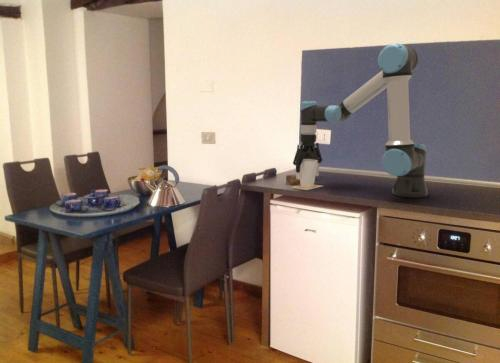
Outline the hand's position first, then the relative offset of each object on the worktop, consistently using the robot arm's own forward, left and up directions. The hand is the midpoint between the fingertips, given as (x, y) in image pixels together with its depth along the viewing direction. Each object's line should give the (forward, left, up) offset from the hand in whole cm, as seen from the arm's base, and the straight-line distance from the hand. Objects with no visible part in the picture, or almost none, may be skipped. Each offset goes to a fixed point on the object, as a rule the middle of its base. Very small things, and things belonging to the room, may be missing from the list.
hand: (307, 177), depth 226 cm
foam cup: (0, 0, -5) cm, 5 cm away
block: (+9, 0, -5) cm, 10 cm away
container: (+12, -16, -5) cm, 21 cm away
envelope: (0, 0, -5) cm, 5 cm away
